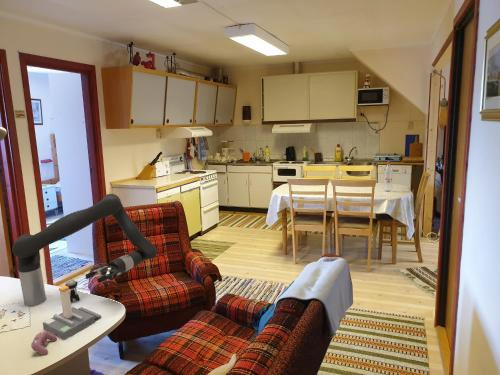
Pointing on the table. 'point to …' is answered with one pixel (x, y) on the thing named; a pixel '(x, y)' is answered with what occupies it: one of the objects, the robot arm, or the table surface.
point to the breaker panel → (68, 323)
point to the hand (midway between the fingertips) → (91, 279)
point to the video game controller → (42, 341)
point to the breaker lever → (66, 302)
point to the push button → (72, 290)
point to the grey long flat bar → (91, 313)
